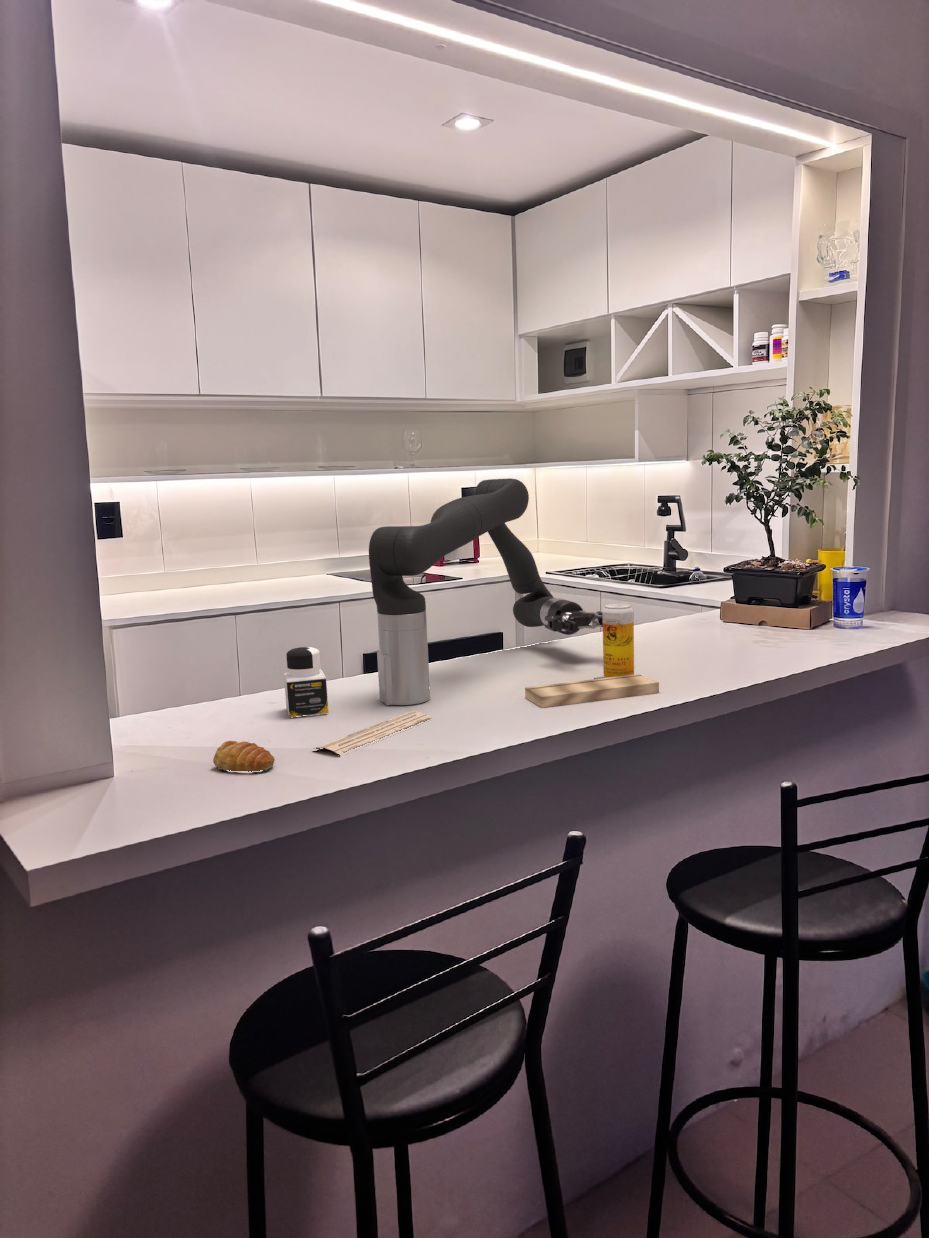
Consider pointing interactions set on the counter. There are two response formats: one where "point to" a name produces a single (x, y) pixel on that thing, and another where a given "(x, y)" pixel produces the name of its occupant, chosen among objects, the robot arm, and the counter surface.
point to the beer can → (618, 640)
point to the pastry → (242, 757)
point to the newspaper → (376, 732)
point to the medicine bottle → (305, 683)
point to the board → (591, 690)
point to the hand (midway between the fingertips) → (593, 625)
